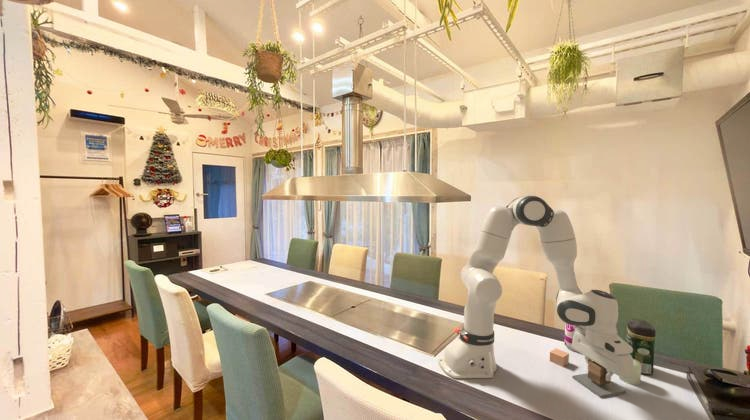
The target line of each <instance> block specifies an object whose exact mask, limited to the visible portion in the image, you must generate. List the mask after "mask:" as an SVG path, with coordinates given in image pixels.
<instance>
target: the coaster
mask: <svg viewBox="0 0 750 420" xmlns="http://www.w3.org/2000/svg"><path fill="white" fill-rule="evenodd" d="M572 379H573V380H574V381H576V382H577V383H579V384H580V385H582V387H585V388H586V389H587V390H589V391H590V392H592V393H593V394H594V395H596V396H597V397H599V398H606V397H611V396H617V395H623V394H627V390H626V389H624V388H623V387H621V386H620V385H618V384H617V383H615V382H613V381H612V380H610V383H609V384H604V385H598V384H597V383H595V382H594V381H592V380H591V379H589V378H588V372H587V373H582V374H581V373H580V374H576V375H572Z"/></svg>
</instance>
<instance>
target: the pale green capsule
mask: <svg viewBox="0 0 750 420" xmlns="http://www.w3.org/2000/svg"><path fill="white" fill-rule="evenodd" d="M641 375H642V374H641V363H640V362H639V361H637V360H635V359H633V376H631V377H629V378H621V377H619V376H618V378H619V380H620V381H622V382H624V383H626V384H628V385H631V386H640V385H641V381H642V380H641Z"/></svg>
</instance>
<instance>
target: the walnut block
mask: <svg viewBox="0 0 750 420" xmlns="http://www.w3.org/2000/svg"><path fill="white" fill-rule="evenodd" d="M587 373H588V378H589V379H591V380H592V381H594V382H595V383H597V384H598V385H604V384H609V383H610V381H611V380H610V381H606V380H605V379H603V374H606V373H608V372H607V371H606V368H604V367H603V366H601V365H599V364H598V363H596V362H594V361H593V360H592V361H589V364H587Z"/></svg>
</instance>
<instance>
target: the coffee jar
mask: <svg viewBox="0 0 750 420" xmlns="http://www.w3.org/2000/svg"><path fill="white" fill-rule="evenodd" d="M626 326H627V328H626V341H625V342H626V343H627V344H629V345H630V346H631V347H632V348H633V352H632V353H629V354H630V355H631V356H632V358H633V359H635V360H637V361H639V362H640V363H641V375H653V374H654V366H655V365H654V361H655V360H654V359H655V344H656V343H655V341H656V328H654V326H653V325H652V324H650V323H649V322H647V321H646V320H644V319H637V318H632V319H628V321H627V325H626Z"/></svg>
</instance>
